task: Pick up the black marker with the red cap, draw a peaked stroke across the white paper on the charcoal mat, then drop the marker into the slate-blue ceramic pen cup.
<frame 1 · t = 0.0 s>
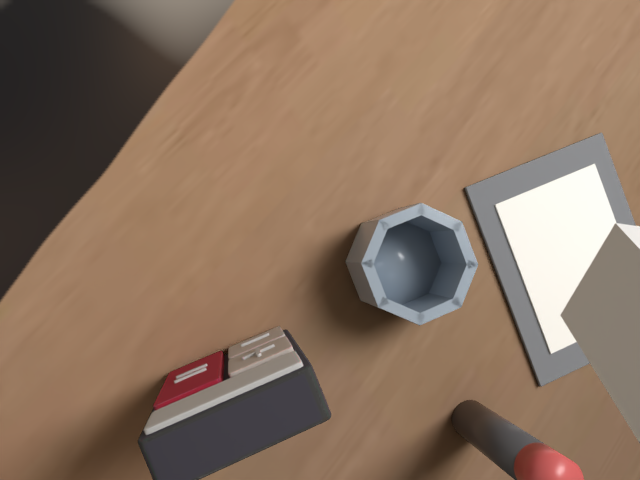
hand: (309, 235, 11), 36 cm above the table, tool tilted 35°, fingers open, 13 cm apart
pen cup: (397, 262, 49), on the table
marker: (469, 418, 50), on the table
calculator: (233, 367, 47), on the table
writing pad: (569, 257, 52), on the table
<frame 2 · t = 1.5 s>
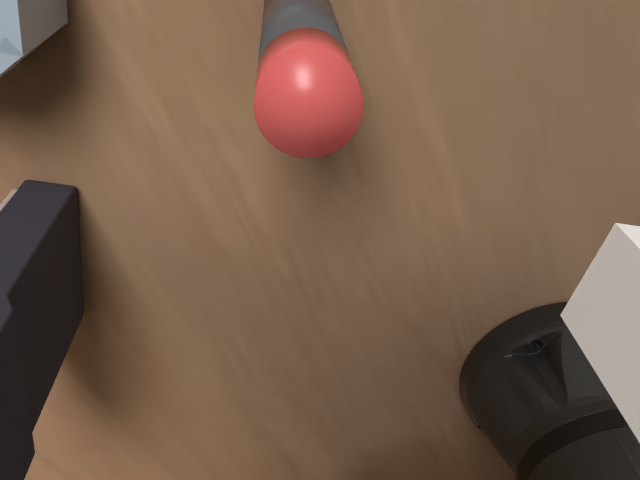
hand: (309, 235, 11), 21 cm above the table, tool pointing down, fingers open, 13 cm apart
marker: (296, 8, 28), on the table
calculator: (57, 249, 36), on the table
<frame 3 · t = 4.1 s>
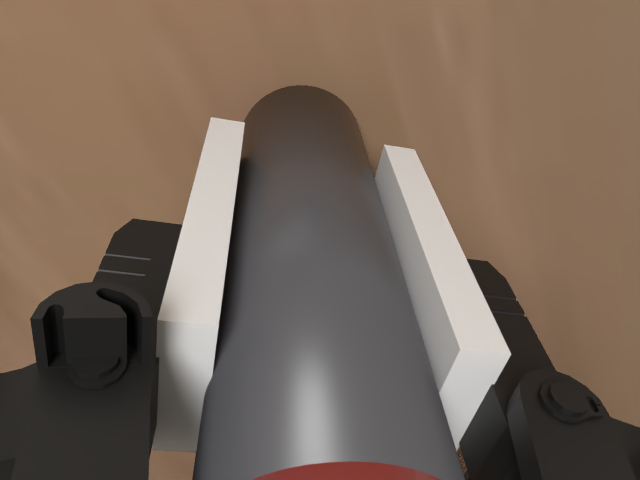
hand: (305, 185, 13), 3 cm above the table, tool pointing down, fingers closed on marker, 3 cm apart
marker: (300, 144, 15), on the table, touching gripper
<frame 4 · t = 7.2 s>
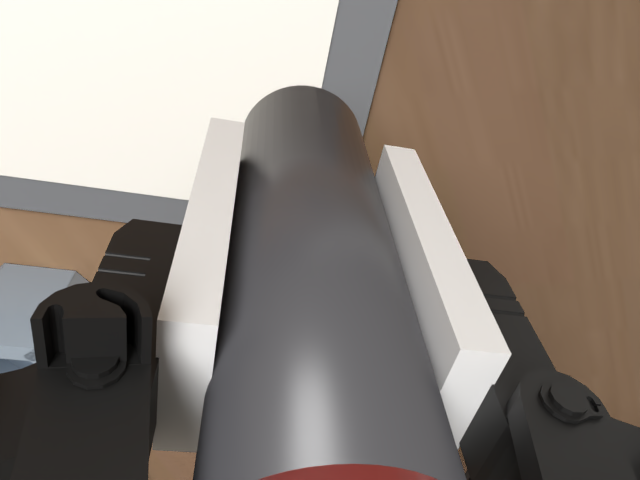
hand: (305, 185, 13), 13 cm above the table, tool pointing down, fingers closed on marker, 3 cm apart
pen cup: (47, 325, 33), on the table
marker: (301, 144, 15), point 11 cm above the table, touching gripper
writing pad: (155, 86, 25), on the table
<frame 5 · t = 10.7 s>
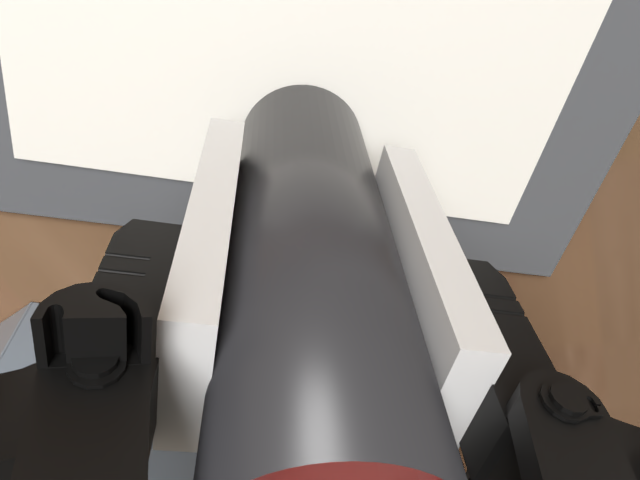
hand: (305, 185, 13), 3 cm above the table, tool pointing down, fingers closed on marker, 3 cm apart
pen cup: (92, 390, 22), on the table
marker: (301, 143, 15), point 1 cm above the table, touching gripper
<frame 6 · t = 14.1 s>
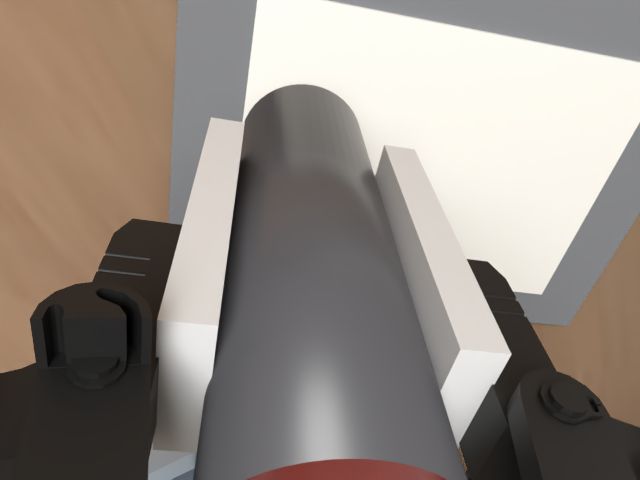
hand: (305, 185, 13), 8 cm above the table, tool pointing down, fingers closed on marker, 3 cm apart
pen cup: (235, 403, 30), on the table
marker: (301, 143, 15), point 5 cm above the table, touching gripper
writing pad: (425, 165, 22), on the table
when the fingers open (8 cm above the table, at t = 17.4 s): marker drops 3 cm, resting on pen cup.
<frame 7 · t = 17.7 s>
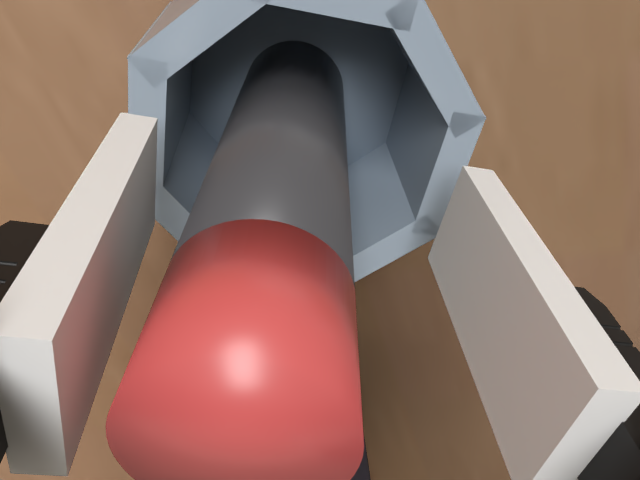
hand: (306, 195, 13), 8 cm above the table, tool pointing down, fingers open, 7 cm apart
pen cup: (297, 82, 19), on the table
marker: (294, 91, 19), point 1 cm above the table, touching pen cup
calculator: (298, 393, 29), on the table
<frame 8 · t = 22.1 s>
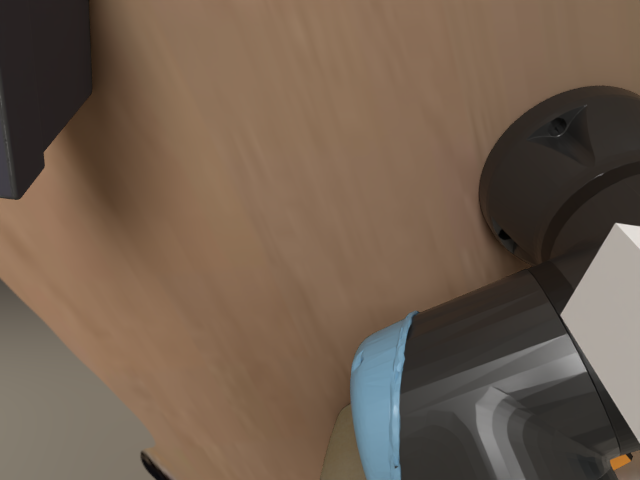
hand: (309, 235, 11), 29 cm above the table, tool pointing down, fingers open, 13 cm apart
plant pot: (367, 417, 61), on the table
calculator: (65, 6, 35), on the table
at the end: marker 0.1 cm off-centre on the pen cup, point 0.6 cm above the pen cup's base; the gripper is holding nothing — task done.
